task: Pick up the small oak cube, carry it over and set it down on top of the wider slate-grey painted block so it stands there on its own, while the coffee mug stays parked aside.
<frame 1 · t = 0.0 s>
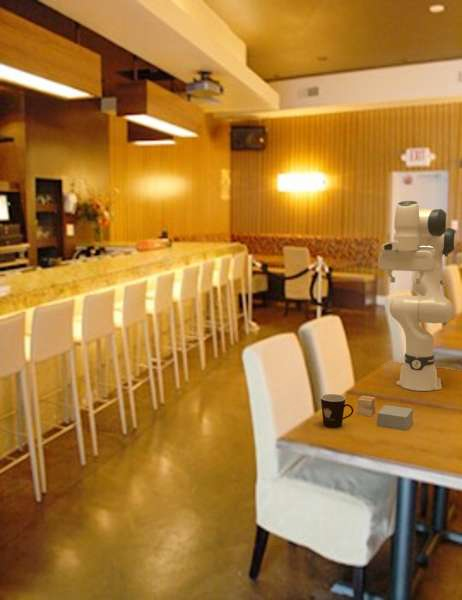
hand: (405, 282, 224), 48 cm above the table, fingers open, 8 cm apart
coffee mug: (335, 426, 211), on the table
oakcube: (366, 413, 224), on the table
block: (395, 424, 213), on the table
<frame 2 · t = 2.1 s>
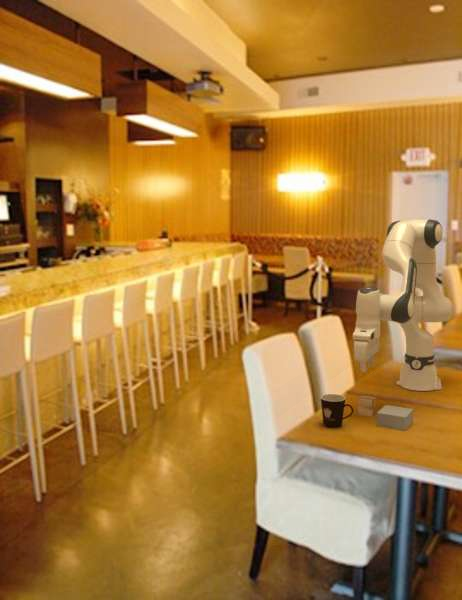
hand: (367, 368, 221), 17 cm above the table, fingers open, 8 cm apart
nothing on the table moved.
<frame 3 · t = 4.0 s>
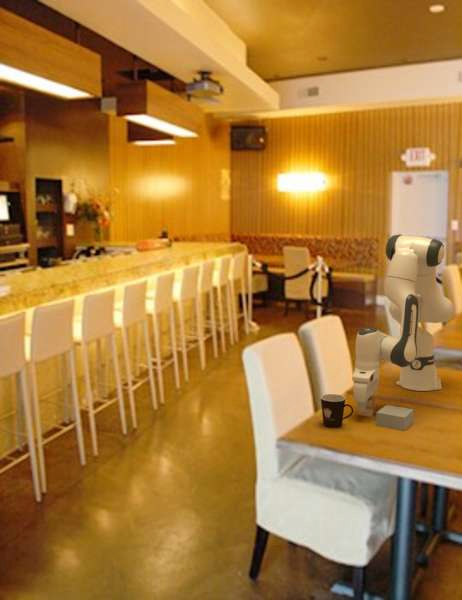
hand: (366, 408, 223), 2 cm above the table, fingers closed on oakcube, 5 cm apart
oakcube: (366, 413, 224), on the table, touching gripper
everything else where it was.
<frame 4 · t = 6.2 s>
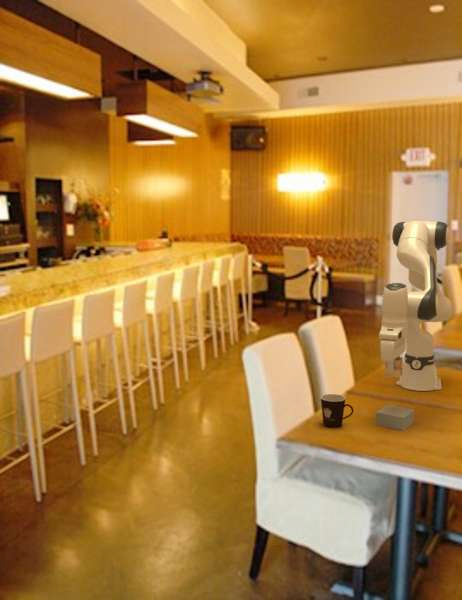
hand: (393, 369, 211), 20 cm above the table, fingers closed on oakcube, 5 cm apart
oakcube: (393, 375, 211), point 17 cm above the table, touching gripper
everything else where it was.
when the fingers open (8 cm above the table, at t = 8.4 s): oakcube drops 1 cm, resting on block.
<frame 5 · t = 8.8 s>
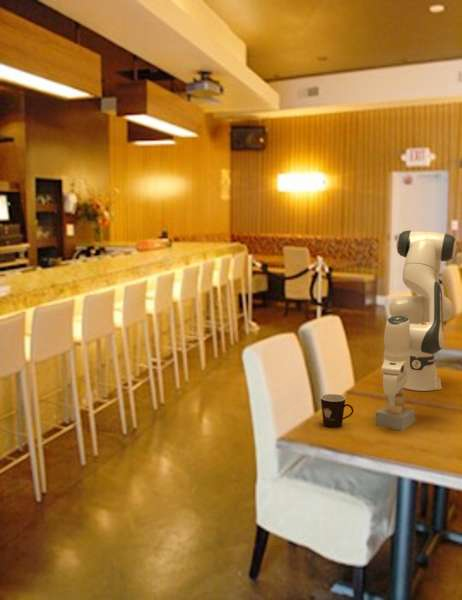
hand: (395, 401, 212), 8 cm above the table, fingers open, 8 cm apart
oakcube: (394, 411, 212), point 5 cm above the table, touching block
block: (395, 424, 213), on the table, touching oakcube
everything else where it was.
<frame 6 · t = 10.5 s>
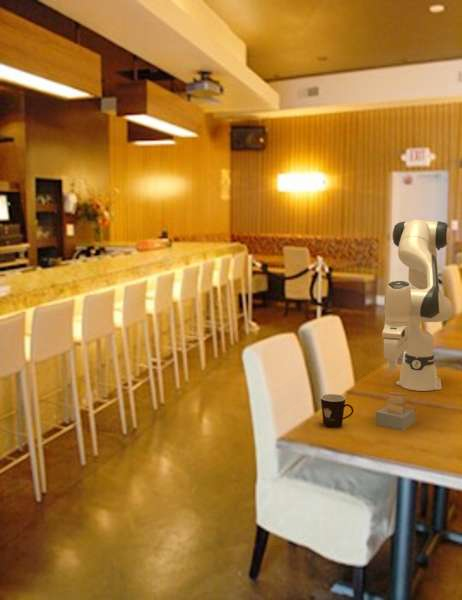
hand: (396, 367, 210), 20 cm above the table, fingers open, 8 cm apart
nothing on the table moved.
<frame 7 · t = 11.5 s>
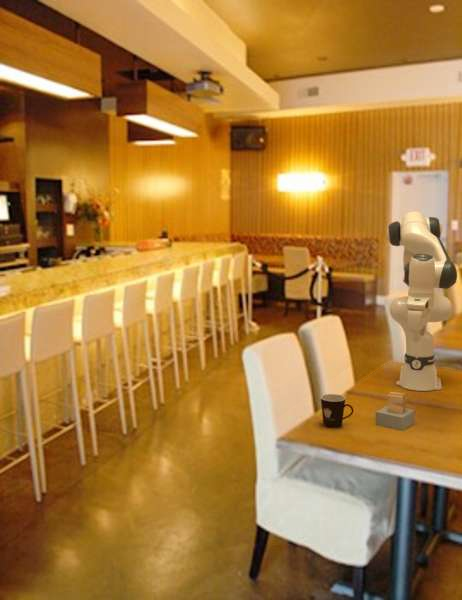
hand: (419, 338, 215), 29 cm above the table, fingers open, 8 cm apart
nothing on the table moved.
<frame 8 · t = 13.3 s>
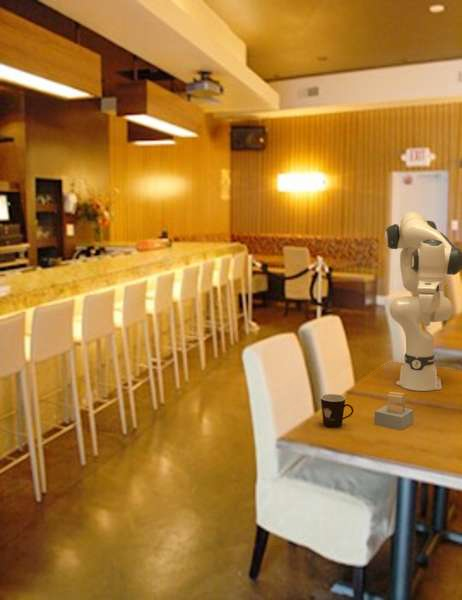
hand: (429, 323, 217), 34 cm above the table, fingers open, 8 cm apart
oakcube: (395, 410, 212), point 5 cm above the table
block: (394, 424, 213), on the table
everything else where it was.
at the end: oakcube inside the target area on the block (0.7 cm from its centre), point 5.0 cm above the block's base; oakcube tilted 1°; the gripper is holding nothing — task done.
